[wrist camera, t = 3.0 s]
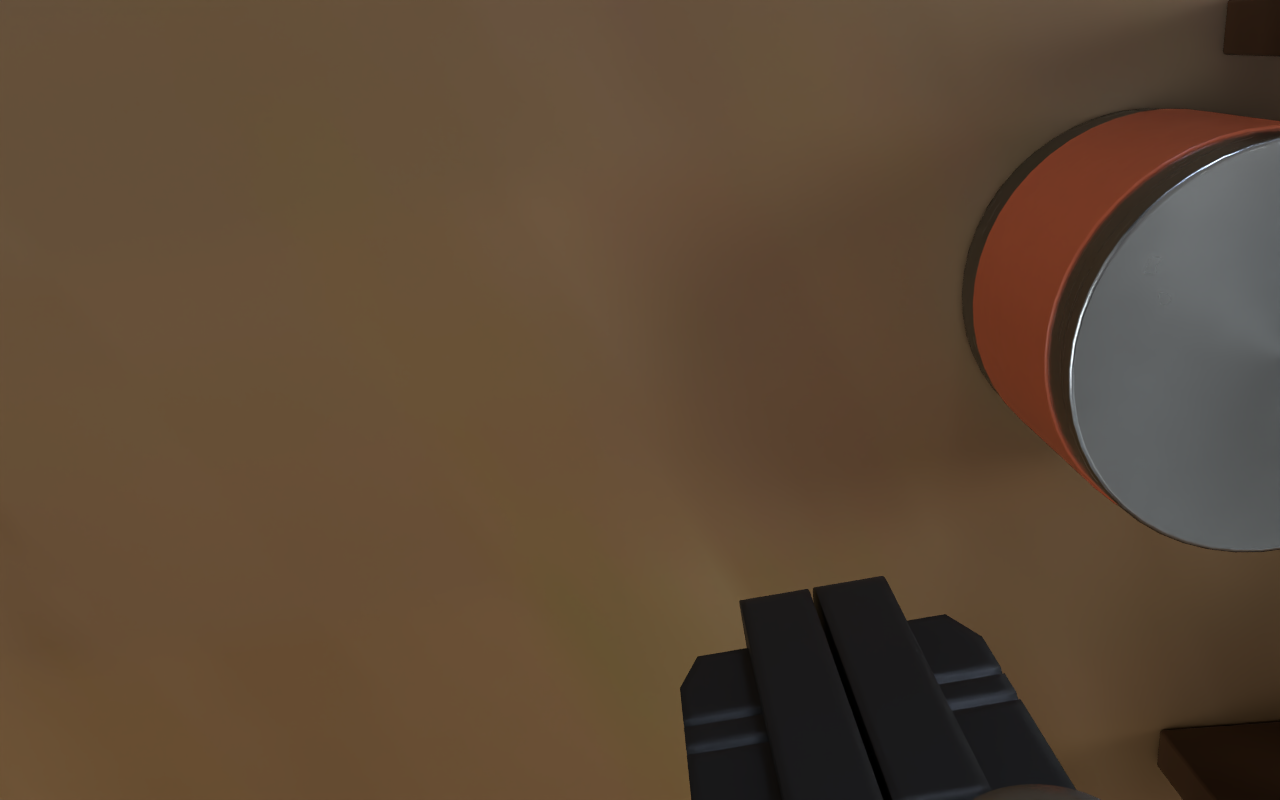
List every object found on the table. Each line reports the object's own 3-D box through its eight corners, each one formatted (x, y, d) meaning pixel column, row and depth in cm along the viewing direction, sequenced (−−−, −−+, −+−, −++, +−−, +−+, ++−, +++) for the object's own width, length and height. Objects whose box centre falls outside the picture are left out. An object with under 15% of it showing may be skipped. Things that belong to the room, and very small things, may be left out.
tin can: (953, 451, 24) (1054, 571, 19) (962, 117, 22) (1078, 144, 17) (1277, 429, 24) (1468, 542, 19) (1317, 93, 22) (1545, 113, 17)
